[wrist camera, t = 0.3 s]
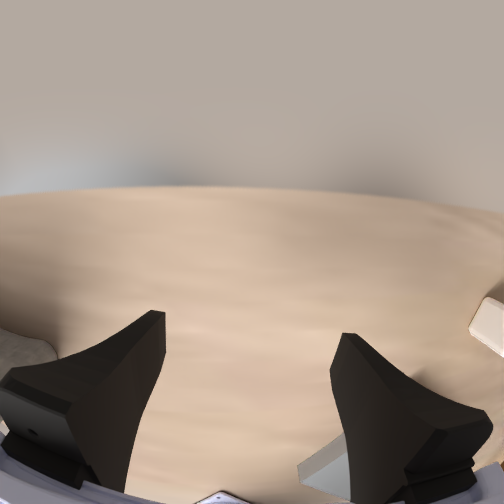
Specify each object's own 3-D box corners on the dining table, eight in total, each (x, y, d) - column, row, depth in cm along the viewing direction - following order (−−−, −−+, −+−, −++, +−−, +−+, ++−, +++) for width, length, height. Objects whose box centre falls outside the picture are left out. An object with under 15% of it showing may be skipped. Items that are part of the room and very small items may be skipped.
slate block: (368, 492, 28) (374, 508, 25) (296, 462, 26) (299, 482, 24) (453, 425, 26) (464, 439, 23) (401, 378, 25) (414, 395, 22)
